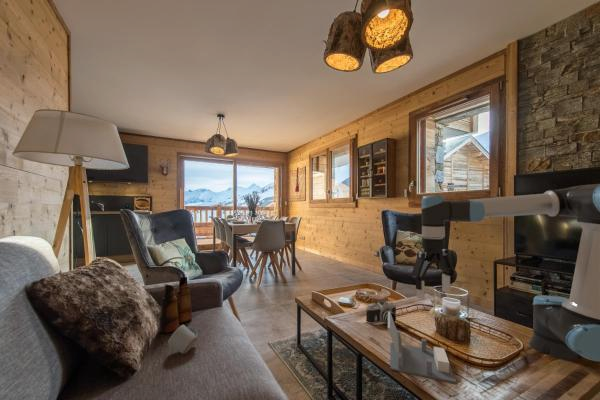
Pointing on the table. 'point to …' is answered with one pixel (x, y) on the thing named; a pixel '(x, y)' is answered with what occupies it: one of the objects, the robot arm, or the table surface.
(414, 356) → the grey open box
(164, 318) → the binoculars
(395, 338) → the cover
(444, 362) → the pale wooden block
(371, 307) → the camera
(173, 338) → the ceramic mug
